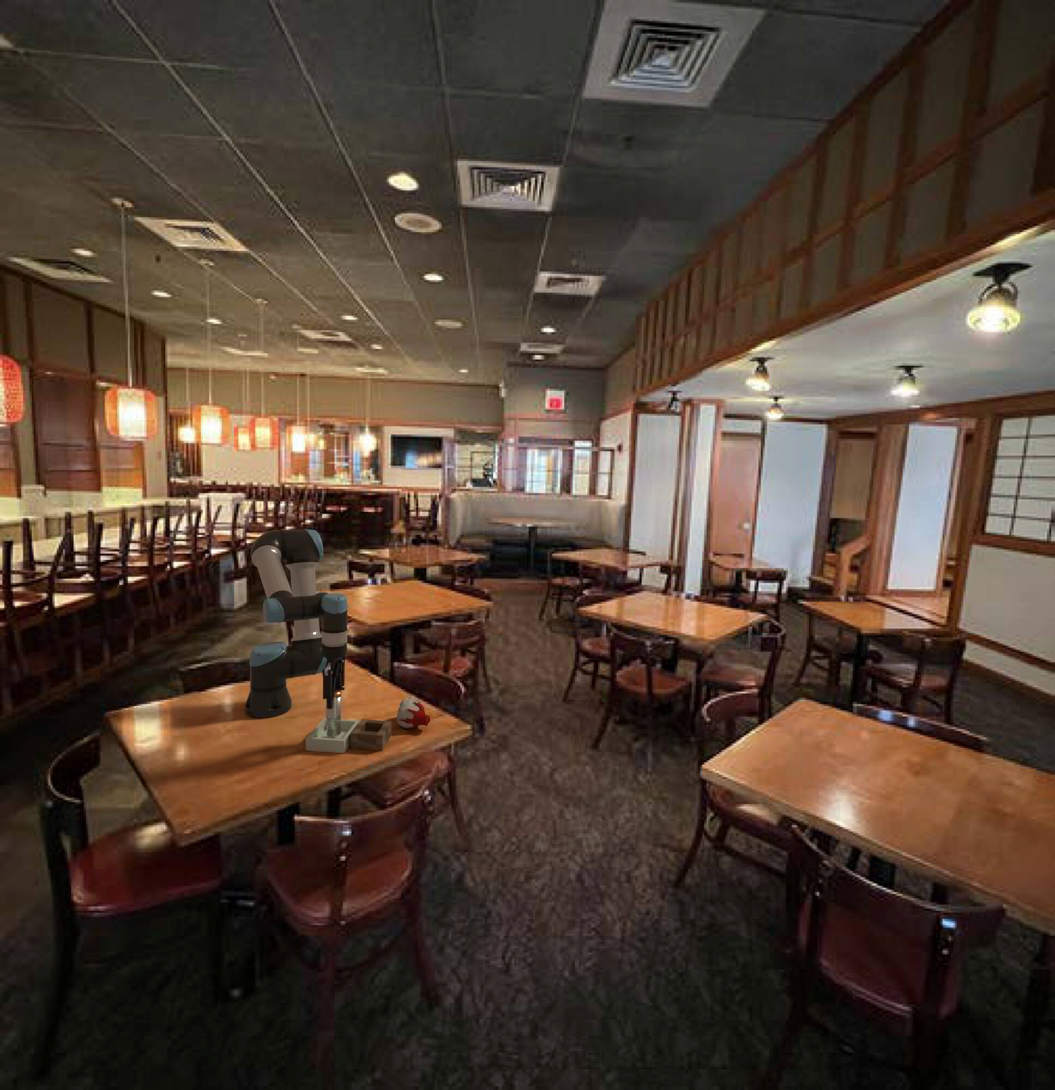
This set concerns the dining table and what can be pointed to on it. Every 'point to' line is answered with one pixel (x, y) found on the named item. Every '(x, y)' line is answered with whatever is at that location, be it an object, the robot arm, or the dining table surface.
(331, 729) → the pin
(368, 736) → the block
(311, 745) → the tray
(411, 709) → the candle
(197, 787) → the dining table surface
